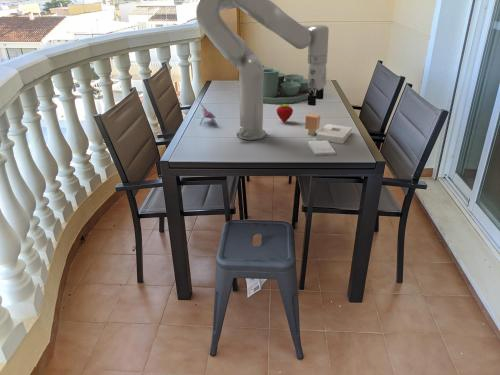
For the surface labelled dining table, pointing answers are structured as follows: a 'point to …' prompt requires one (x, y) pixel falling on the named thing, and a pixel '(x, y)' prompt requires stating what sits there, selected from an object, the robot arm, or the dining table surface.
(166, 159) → the dining table surface
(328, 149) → the external hard drive
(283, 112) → the strawberry
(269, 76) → the tea set
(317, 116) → the plug
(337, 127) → the socket
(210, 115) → the lily
